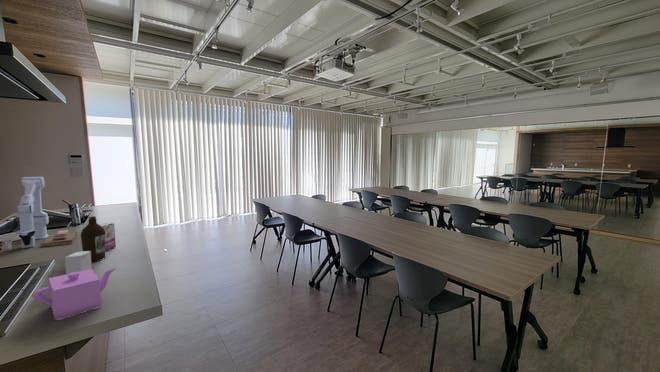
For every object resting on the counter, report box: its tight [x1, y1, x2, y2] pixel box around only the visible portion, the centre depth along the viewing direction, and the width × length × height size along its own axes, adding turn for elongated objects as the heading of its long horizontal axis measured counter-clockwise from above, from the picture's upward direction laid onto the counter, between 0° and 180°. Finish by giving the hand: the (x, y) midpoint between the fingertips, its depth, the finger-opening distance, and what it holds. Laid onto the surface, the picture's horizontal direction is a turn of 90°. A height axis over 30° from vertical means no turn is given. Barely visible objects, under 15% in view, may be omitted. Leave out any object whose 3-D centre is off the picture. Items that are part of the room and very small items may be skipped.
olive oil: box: [80, 215, 107, 263], centre depth 155 cm, size 11×11×25 cm
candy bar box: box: [99, 222, 117, 251], centre depth 171 cm, size 11×5×16 cm, turn 179°
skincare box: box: [64, 250, 93, 275], centre depth 126 cm, size 8×6×15 cm
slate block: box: [20, 236, 36, 249], centre depth 173 cm, size 5×5×6 cm
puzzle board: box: [41, 229, 78, 248], centre depth 188 cm, size 24×14×4 cm, turn 37°
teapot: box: [31, 267, 118, 321], centre depth 108 cm, size 15×25×14 cm, turn 140°
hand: (28, 243), depth 174 cm, fingers closed on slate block, 5 cm apart
